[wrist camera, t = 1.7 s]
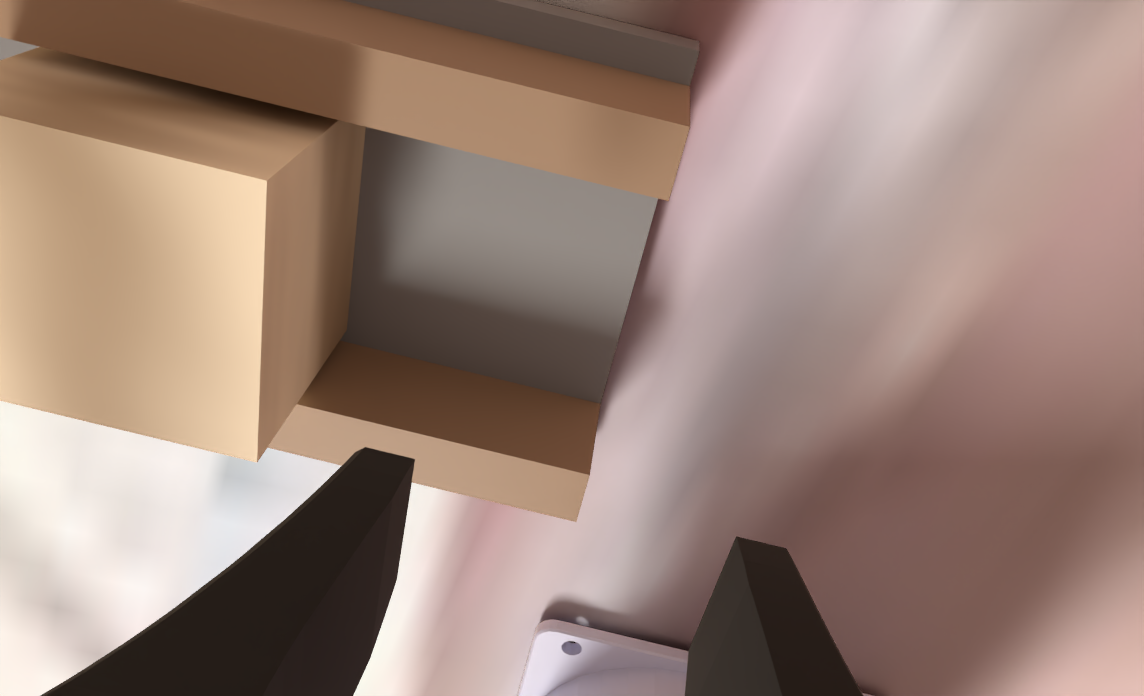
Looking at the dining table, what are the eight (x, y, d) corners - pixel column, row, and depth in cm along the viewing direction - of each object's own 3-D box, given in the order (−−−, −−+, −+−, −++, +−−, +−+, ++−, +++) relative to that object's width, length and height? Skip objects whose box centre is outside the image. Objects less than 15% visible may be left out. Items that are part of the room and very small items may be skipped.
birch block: (368, 94, 16) (266, 180, 12) (346, 329, 19) (257, 462, 15) (95, 27, 16) (-95, 92, 12) (111, 272, 18) (-40, 390, 15)
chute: (699, 40, 16) (701, 87, 13) (585, 447, 20) (569, 544, 18) (-538, -266, 15) (-803, -286, 13) (-362, 218, 20) (-528, 279, 17)
